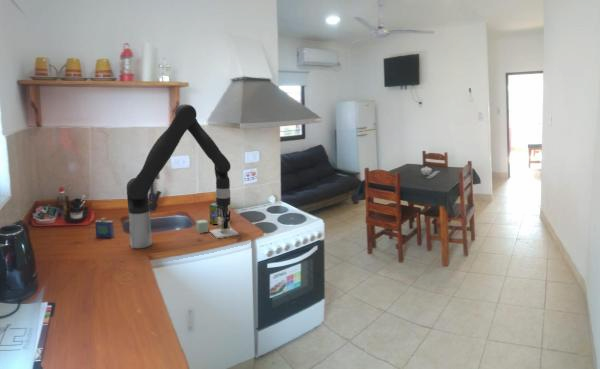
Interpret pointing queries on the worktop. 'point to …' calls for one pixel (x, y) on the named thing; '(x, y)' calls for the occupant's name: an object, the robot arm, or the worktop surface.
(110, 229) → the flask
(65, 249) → the worktop surface
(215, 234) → the tile
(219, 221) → the maple block
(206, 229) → the sage block
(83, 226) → the worktop surface
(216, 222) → the chalk box
